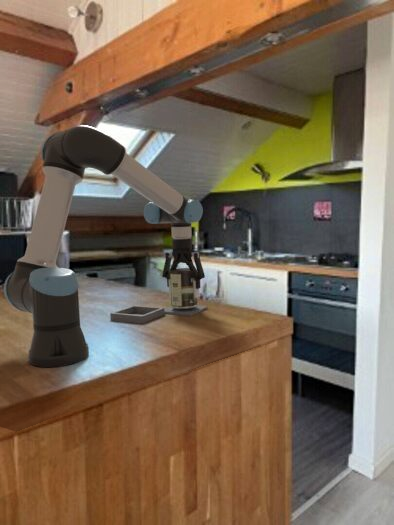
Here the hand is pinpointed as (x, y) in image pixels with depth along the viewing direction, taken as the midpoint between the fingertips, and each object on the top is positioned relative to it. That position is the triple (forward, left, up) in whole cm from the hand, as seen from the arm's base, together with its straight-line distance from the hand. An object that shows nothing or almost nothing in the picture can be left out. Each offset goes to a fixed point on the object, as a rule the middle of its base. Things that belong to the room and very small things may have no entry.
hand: (183, 296), depth 162 cm
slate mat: (0, 0, -6) cm, 6 cm away
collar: (-15, +11, -6) cm, 19 cm away
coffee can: (0, 0, -4) cm, 4 cm away
